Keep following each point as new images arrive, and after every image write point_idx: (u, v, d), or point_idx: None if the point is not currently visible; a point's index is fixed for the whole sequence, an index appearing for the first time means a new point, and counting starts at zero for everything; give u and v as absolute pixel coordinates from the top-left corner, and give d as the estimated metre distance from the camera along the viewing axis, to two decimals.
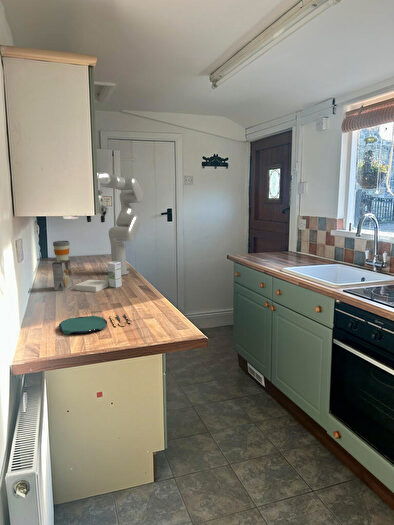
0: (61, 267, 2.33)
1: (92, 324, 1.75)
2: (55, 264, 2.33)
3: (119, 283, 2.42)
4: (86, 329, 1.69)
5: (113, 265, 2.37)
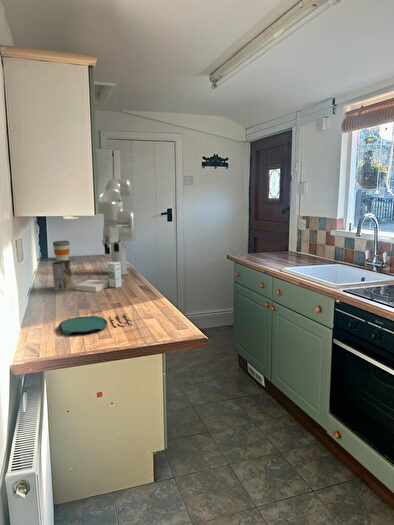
0: (61, 267, 2.33)
1: (92, 324, 1.75)
2: (55, 264, 2.33)
3: (119, 283, 2.42)
4: (86, 329, 1.69)
5: (113, 265, 2.37)
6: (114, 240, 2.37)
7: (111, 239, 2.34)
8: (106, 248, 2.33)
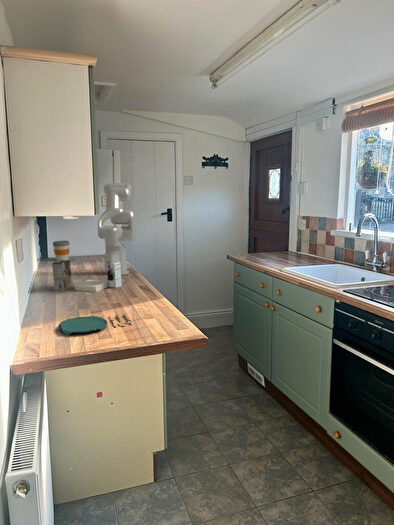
0: (61, 267, 2.33)
1: (92, 324, 1.75)
2: (55, 264, 2.33)
3: (119, 283, 2.42)
4: (86, 329, 1.68)
5: (113, 265, 2.37)
6: None
7: None
8: (109, 275, 2.38)
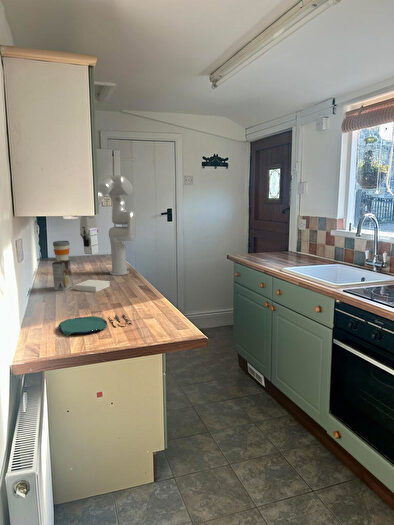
0: (61, 267, 2.33)
1: (92, 324, 1.74)
2: (55, 264, 2.33)
3: (95, 250, 2.35)
4: (86, 330, 1.68)
5: (89, 230, 2.30)
6: None
7: (88, 230, 2.30)
8: (85, 240, 2.31)
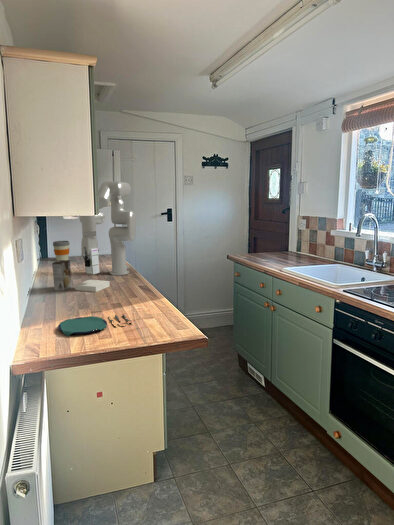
0: (61, 267, 2.33)
1: (92, 325, 1.74)
2: (55, 264, 2.33)
3: (96, 270, 2.37)
4: (86, 330, 1.68)
5: (90, 251, 2.32)
6: None
7: (89, 251, 2.32)
8: (86, 261, 2.33)
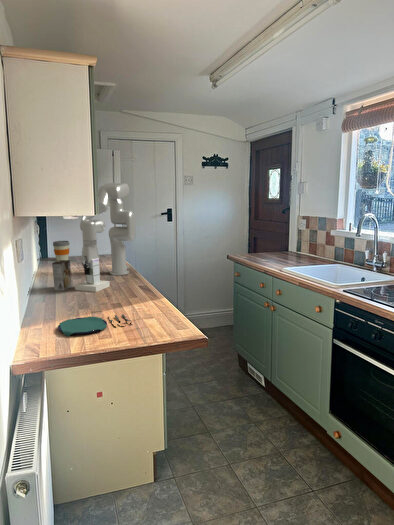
0: (61, 267, 2.33)
1: (92, 325, 1.74)
2: (55, 264, 2.33)
3: (97, 279, 2.38)
4: (86, 330, 1.68)
5: (91, 261, 2.33)
6: None
7: (90, 259, 2.33)
8: (86, 269, 2.33)
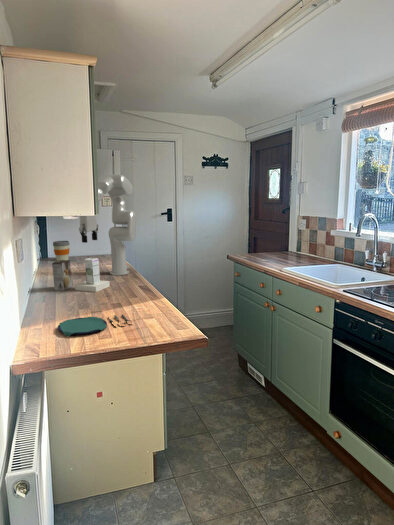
0: (61, 267, 2.33)
1: (92, 325, 1.74)
2: (55, 264, 2.33)
3: (97, 280, 2.38)
4: (86, 330, 1.68)
5: (91, 261, 2.33)
6: (91, 228, 2.33)
7: (88, 227, 2.30)
8: (83, 236, 2.29)
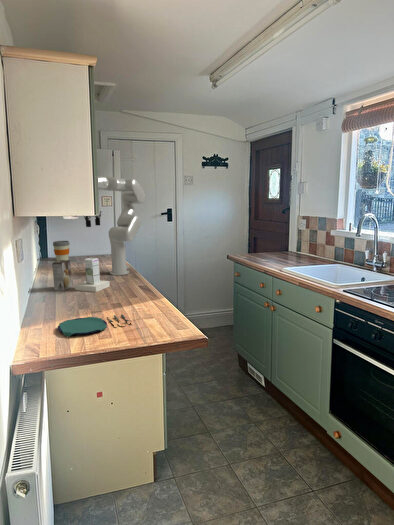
0: (61, 267, 2.33)
1: (91, 325, 1.73)
2: (55, 264, 2.33)
3: (97, 280, 2.38)
4: (87, 330, 1.67)
5: (91, 261, 2.33)
6: None
7: None
8: (87, 221, 2.45)
